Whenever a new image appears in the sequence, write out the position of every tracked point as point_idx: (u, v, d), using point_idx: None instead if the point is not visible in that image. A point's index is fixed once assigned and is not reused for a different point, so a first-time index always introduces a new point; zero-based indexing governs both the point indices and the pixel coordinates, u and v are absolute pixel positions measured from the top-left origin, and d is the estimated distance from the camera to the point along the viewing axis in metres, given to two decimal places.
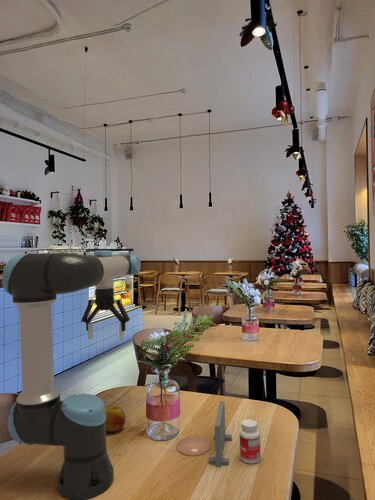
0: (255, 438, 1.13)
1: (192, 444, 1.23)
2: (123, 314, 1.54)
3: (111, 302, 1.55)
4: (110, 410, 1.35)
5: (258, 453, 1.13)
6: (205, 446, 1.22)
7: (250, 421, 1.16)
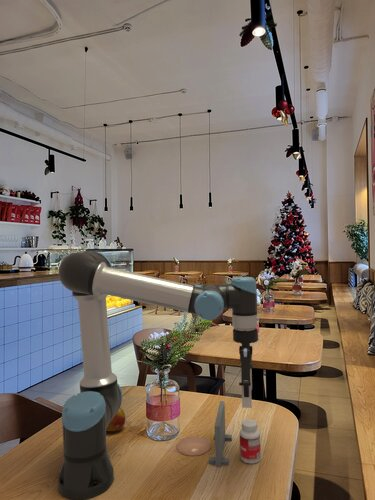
0: (255, 438, 1.13)
1: (192, 444, 1.23)
2: None
3: None
4: None
5: (258, 453, 1.13)
6: (205, 446, 1.22)
7: (250, 421, 1.16)
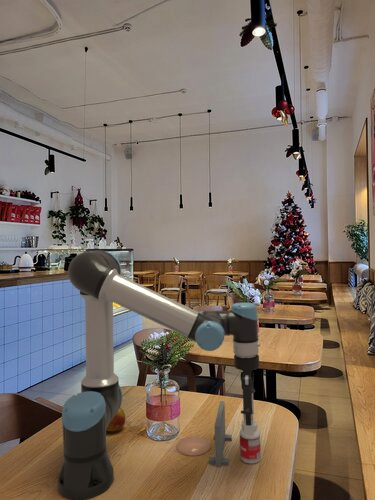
0: (255, 438, 1.13)
1: (192, 444, 1.23)
2: (243, 401, 1.07)
3: None
4: None
5: (258, 453, 1.13)
6: (205, 446, 1.22)
7: None
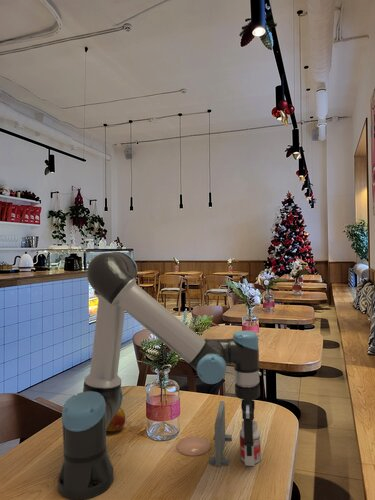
0: (255, 439, 1.12)
1: (192, 444, 1.23)
2: (244, 433, 1.09)
3: (244, 407, 1.12)
4: None
5: (258, 453, 1.13)
6: (205, 446, 1.22)
7: None
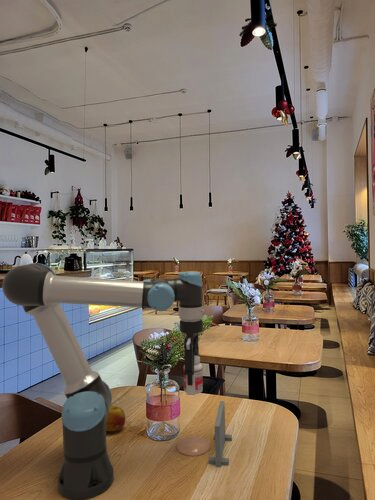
0: (196, 370, 1.20)
1: (192, 444, 1.23)
2: None
3: (186, 340, 1.20)
4: (110, 410, 1.35)
5: (199, 385, 1.20)
6: (205, 446, 1.22)
7: (194, 356, 1.23)
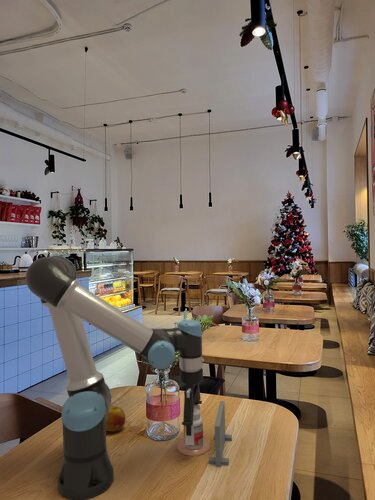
0: (197, 426, 1.20)
1: None
2: (184, 413, 1.15)
3: (186, 390, 1.20)
4: (110, 410, 1.35)
5: (200, 440, 1.21)
6: (205, 446, 1.22)
7: (194, 410, 1.24)
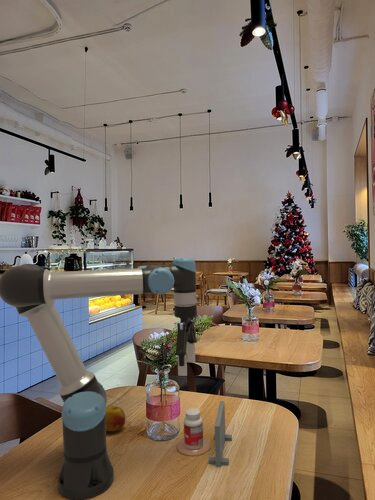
0: (197, 426, 1.20)
1: None
2: None
3: None
4: (110, 410, 1.35)
5: (200, 440, 1.21)
6: (205, 446, 1.22)
7: (194, 410, 1.24)
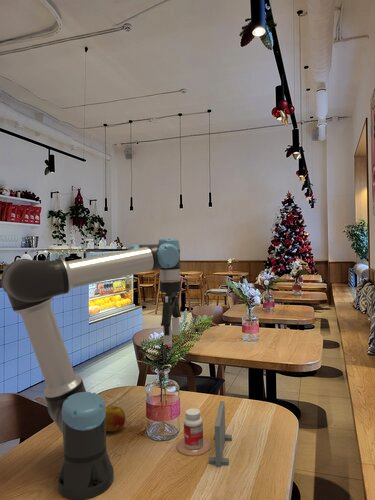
0: (197, 426, 1.20)
1: None
2: None
3: None
4: (110, 410, 1.35)
5: (200, 440, 1.21)
6: (205, 446, 1.22)
7: (194, 410, 1.24)
